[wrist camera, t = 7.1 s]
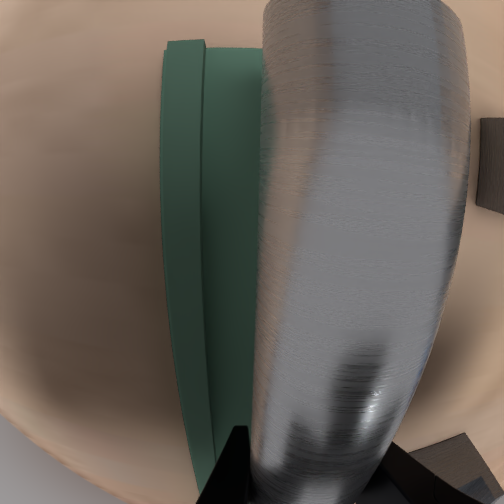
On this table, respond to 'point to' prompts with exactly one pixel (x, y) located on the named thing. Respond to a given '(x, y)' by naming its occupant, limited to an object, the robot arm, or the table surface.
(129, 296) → the table surface
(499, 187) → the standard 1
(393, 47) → the rail
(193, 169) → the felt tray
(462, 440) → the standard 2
